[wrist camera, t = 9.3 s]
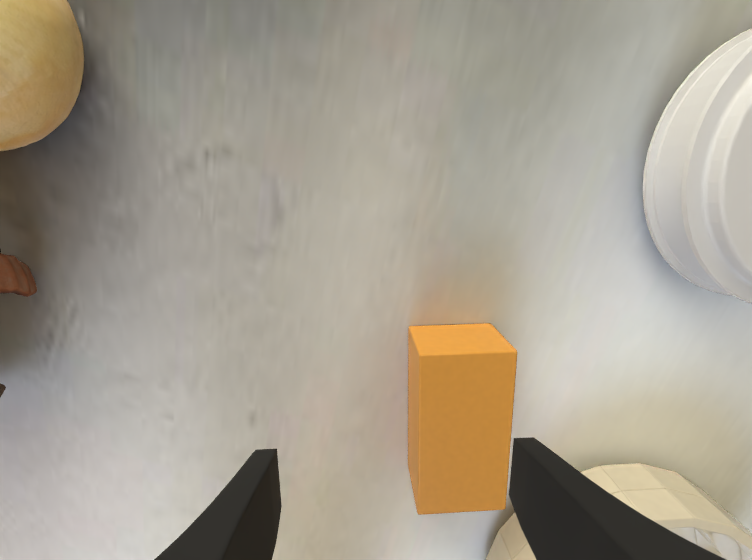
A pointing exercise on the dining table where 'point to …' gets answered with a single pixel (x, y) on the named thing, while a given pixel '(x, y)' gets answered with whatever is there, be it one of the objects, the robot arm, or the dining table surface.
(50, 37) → the onion
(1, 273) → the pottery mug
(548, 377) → the dining table surface
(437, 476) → the orange rectangular block
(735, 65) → the lid
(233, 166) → the dining table surface
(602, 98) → the dining table surface
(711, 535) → the bowl
